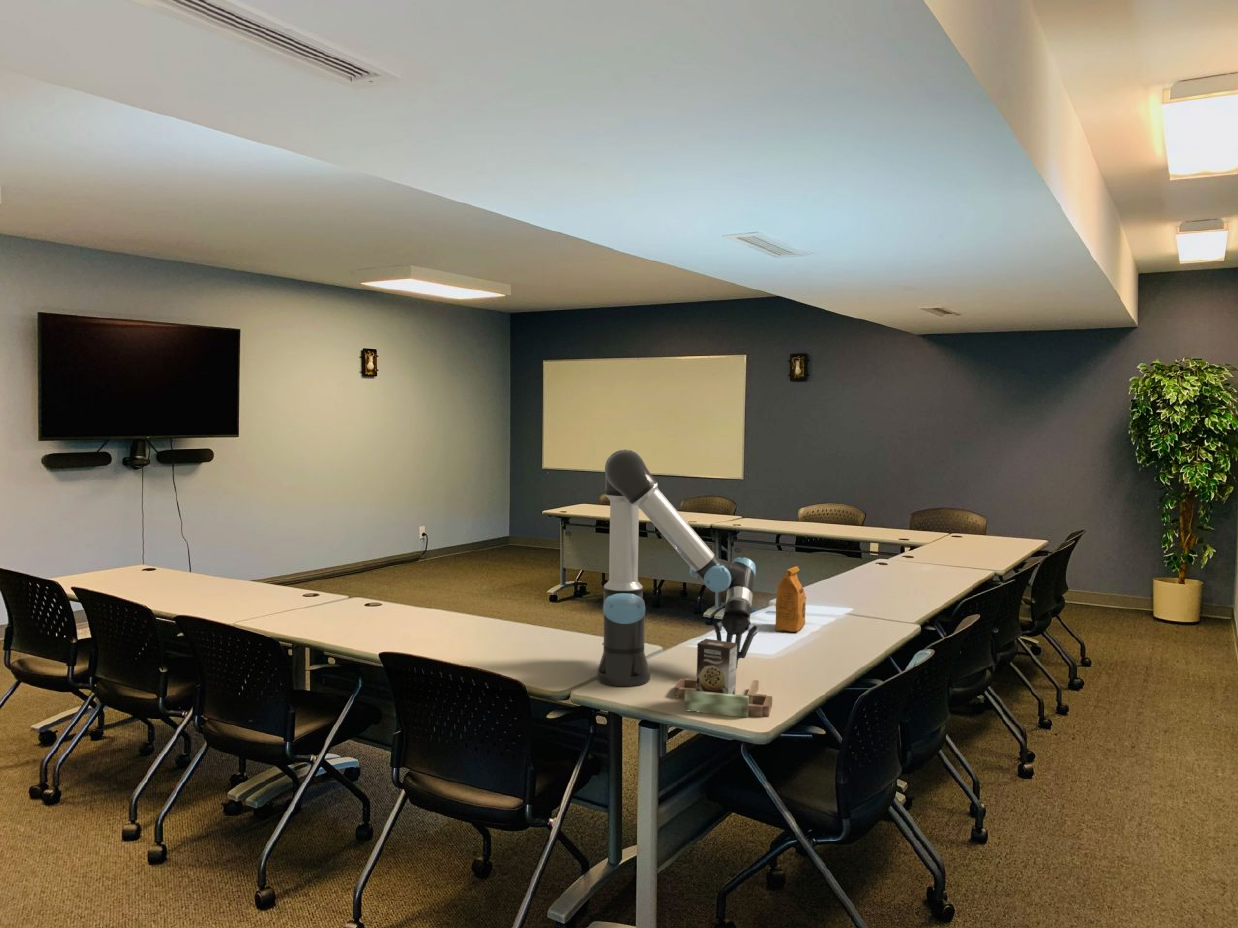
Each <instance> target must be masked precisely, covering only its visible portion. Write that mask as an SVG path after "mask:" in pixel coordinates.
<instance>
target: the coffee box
mask: <svg viewBox="0 0 1238 928" xmlns="http://www.w3.org/2000/svg"><path fill="white" fill-rule="evenodd" d="M696 655H697V657H696V679H697V686H696V691H703V692H713V693H724V694H734V695H737V694H736V693H737V691H736V690H737V689H736V688H737V669H736V662H737V643H735V642H726V640H722V641H718V640H717V639H711V638H705V639H702V640H701V641H699V642H698V643H697V651H696Z"/></svg>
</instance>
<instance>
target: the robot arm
mask: <svg viewBox="0 0 1238 928" xmlns="http://www.w3.org/2000/svg"><path fill="white" fill-rule="evenodd" d="M604 474H605V487H604V488H605V492H604V493H605V494H604V495H605V497H606V498H607V499H608V500H609V502H610V503H609V506H610V507H609V508H610V509H609V557H608V558H609V562H608V563H609V565H608V566H609V568H608V571H609V573H608V581H607V582H606V583H605V584H604V585H603V604H602V614H603V650H602V651H603V653H602V655H601V659H600V661H599V665H598V667H597V672H596V673H597V674H596V679H597V681H598V682H600V683H601V684H604V685H608V686H612V685H614V686H615V687H632V686H631V685H637V686H641V685H640V684H642V685H644V683H645V684H647V683H649V682H648V681H649V680H651V671H650V667H649V663H648V660H647V657H646V653H645V627H646V626H645V621H646V620H645V618H646V617H645V616H646V615H645V614H646V605H645V600H644V599H643V590H644V588H643V587H644V586H643V585H642V584H641V583H640V582H639V576H638V575H639V530H640V529H639V525H640V523H639V521H640V510H641V511H642V513H643V514H644V515H645V516H646V517H647V519H649V521H650V522H651V523H652V524H653V525H654V526H655V528H656V529H657V530H658V531H659V532H660V534H661V535H662V536H663V537H664V538H665V539H666V540H667V541H668V543H669V544H670V545H671V546H672V547H673V548H674V550H675V551H676V552H677V553H678V554H679V556H680V557H681V558H682V559H683V560H684V561H685V562H686V563H687V564H688V566H689V575H690V576H691V577H693V578H696V579H697V580H701V581H702V582H703V584H704V586H705V587H706V588H707V589H708V590H709V591H712V592H713V593H722V592H724V591H727V592H726V598H725V599H726V600H725V605H724V611H723V612H724V613H723V617H722V619H721V620H720V621H719V622H713V623H712V627H713V631H714V633H715V634H716V640H718V641H723V640H722V633H721V631H722V629H724V630H725V632H726V638H725V642H732V641H733V637H734V636H735V640H734V643H737V662H736V670H737V669H738V664H739V660H740V659H745V658H746V656H747V654H748V651H749V649H750V646H751V644H752V641H753V640H754V637H755V636H756V635H757V634H758V633H759V632H758V626H757V625H753V624H751V620H750V619H751V611H752V606H753V605H752V603H753V595H754V594H753V593H754V586H755V582H756V571H757V570H756V569H757V568H756V567H757V566H756V564H755V562H754V561H753V560H751V558H747V557H735V558H734V559H733V560H732V561H727V560H725V559H721V558H718V557H717V556H716V555H715V553H714V552H713V551H712V550H711V548H709V546H708V545H707V544H706V543H705V541H704V540H703V539H702V538H701V537H700V536H699V534H697V532H696V531H695V530H694V529H693V527H692V526H691V525H690V524H689V523H688V522H687V521H686V519H685V518H684V517H683V516H682V515H681V513H680V512H679V511H678V510H677V508H675V506H673V504H672V503H671V502H670V501H669V500H668V498H667V497H666V496H665V495H664V493H663V492H662V491H660V489H659V488H658V486H659V485H658V484H659V483H658V482H657V480H656V479H655V478H654V476H653V475H652V473H651V472H650V470H649V469H648V467H647V466H646V464H645V462H644V460H643V458H642V457H641V456H640V455H639V454H638V453H637V452H635V451H633V450H629V449H620V450H618V451H615V452H614V453H611V455H610V456H608V457H607V460H606V462H605V466H604ZM746 631H748V632H747V634H746V636H745V639H744V642H743V644H742V647H741V642H742V636H743V634H744V633H746ZM732 643H733V642H732ZM646 682H647V683H646Z"/></svg>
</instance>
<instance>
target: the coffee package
mask: <svg viewBox="0 0 1238 928" xmlns="http://www.w3.org/2000/svg"><path fill="white" fill-rule="evenodd" d="M798 572H800V568H799V566H797V565H796V566H794V567H791V568H788V569H787V570H786V572H785V574H784V575H783V577H782V579H781V580H780V582H779V584H778V585H777V586H778V587H777V591H776V597H775V598H776V599H775V631H777V632H794V633H795V632H799V631H800V630H802V629H803V628H804V627H805V625H806V606H807V605H806V604H807V602H806V601H807V599H806V593H805V589H804V587H803V585H802V584H801V582H800V581H799V577H798V574H797V573H798Z"/></svg>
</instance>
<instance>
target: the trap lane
mask: <svg viewBox="0 0 1238 928" xmlns="http://www.w3.org/2000/svg"><path fill="white" fill-rule="evenodd" d="M759 682H760V681H759V680H758V679H757V680H755V679H753V680H752V681H751V684H750V687H749V689H748V691H747V693H746V695H744V694H742V695H741V694H736V695H734V694H724V693H713V692H703V691H696V686H697V678H687V677H686V678H679V680H678V681H677V682H676V684H675V686H673V697H674V696H678V697H677V698H678V699H682V698H685V699H684V711H685V710H690V711H699V712H704V713H703V714H709V713H717V714H716V715H719V714H724V715H723V716H728V717H729V716H731V717H738V716H739V718H749V716H751V717H759V718H762V717H768V718H769V717H770V714H771V711H772V708H773V696H771V695H767V694H760V693H758V692H759V687H760V685H759V684H760V683H759ZM690 711H689V712H690ZM699 712H698V713H699Z"/></svg>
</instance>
